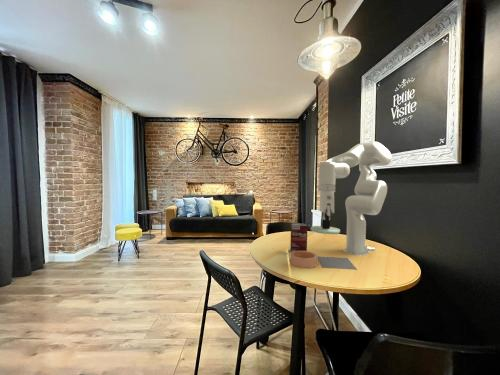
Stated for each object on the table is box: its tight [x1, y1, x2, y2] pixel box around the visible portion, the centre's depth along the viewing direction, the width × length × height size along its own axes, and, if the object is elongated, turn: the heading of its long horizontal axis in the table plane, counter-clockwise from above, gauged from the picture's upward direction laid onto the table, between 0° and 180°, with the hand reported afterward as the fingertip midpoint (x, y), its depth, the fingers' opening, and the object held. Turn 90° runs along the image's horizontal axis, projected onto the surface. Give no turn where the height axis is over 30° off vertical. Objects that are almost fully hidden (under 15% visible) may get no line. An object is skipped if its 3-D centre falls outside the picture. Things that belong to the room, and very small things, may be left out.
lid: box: [310, 218, 341, 235], centre depth 108 cm, size 13×13×6 cm
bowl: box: [290, 250, 319, 269], centre depth 108 cm, size 12×12×5 cm
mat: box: [317, 255, 358, 271], centre depth 109 cm, size 15×15×1 cm
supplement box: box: [289, 223, 308, 253], centre depth 125 cm, size 9×5×16 cm, turn 83°
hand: (325, 227), depth 108 cm, fingers closed on lid, 2 cm apart
